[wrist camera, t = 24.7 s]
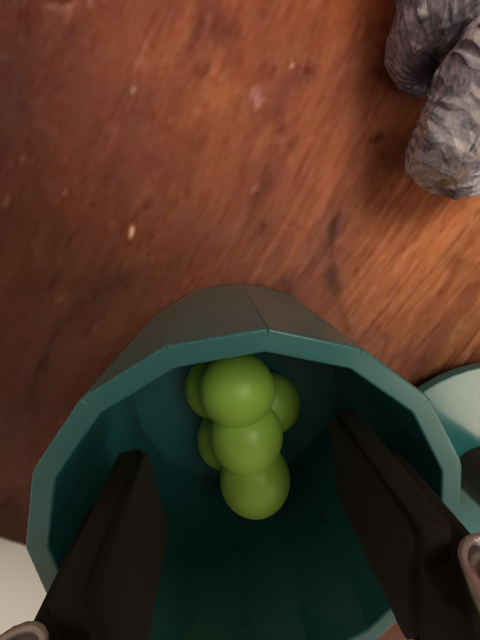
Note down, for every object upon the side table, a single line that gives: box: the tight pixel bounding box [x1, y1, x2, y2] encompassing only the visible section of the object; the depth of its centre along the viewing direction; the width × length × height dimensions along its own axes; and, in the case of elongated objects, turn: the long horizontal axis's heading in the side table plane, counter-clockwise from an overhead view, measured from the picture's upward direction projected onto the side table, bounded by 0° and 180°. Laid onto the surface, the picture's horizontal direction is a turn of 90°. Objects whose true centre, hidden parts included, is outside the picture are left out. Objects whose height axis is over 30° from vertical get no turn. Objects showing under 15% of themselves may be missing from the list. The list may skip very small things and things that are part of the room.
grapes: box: [185, 354, 300, 520], centre depth 12 cm, size 6×5×4 cm
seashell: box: [384, 0, 480, 200], centre depth 9 cm, size 5×5×10 cm
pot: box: [26, 283, 461, 640], centre depth 11 cm, size 10×10×8 cm
